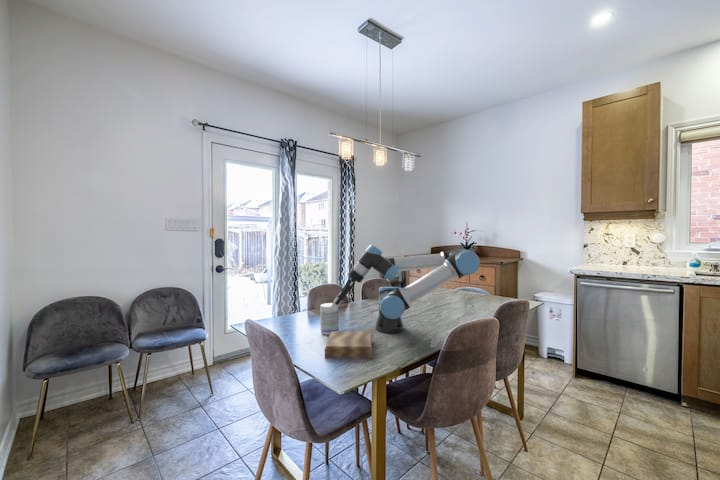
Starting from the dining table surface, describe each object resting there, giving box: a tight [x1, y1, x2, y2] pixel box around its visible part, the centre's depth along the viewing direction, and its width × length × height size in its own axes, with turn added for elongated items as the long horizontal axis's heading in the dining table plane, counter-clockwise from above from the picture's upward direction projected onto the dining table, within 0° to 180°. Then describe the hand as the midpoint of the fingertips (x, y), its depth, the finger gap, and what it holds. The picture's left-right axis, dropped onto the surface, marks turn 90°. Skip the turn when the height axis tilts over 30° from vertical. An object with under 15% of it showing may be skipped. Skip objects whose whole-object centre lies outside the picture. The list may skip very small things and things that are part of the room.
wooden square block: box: [324, 331, 373, 360], centre depth 139 cm, size 20×20×5 cm
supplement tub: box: [319, 302, 340, 336], centre depth 162 cm, size 10×10×15 cm
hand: (333, 305), depth 156 cm, fingers open, 13 cm apart
